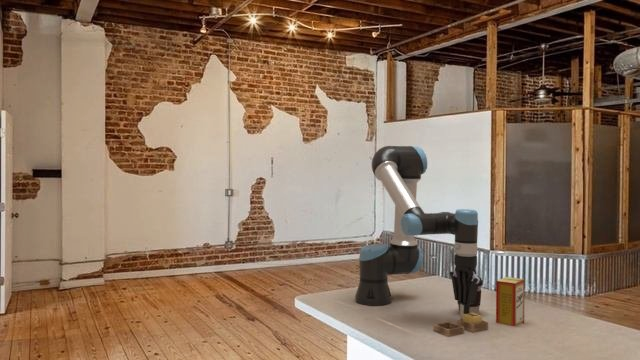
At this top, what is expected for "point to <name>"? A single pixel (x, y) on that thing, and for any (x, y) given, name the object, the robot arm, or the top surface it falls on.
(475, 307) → the coffee cup
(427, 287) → the top surface
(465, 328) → the box
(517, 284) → the baking soda box
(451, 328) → the box
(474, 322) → the letter cube
